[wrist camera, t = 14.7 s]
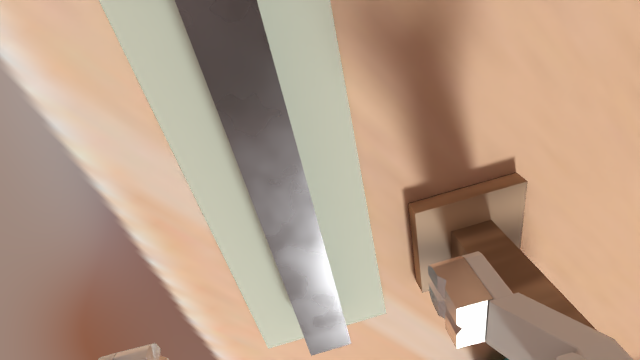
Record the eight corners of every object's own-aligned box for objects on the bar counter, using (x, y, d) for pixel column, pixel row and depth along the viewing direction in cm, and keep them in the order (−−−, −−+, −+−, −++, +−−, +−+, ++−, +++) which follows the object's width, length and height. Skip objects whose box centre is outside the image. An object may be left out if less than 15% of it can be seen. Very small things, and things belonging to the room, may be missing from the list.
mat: (-18, -252, 13) (-28, -261, 12) (270, -316, 13) (271, -327, 12) (267, 342, 31) (268, 348, 30) (383, 307, 31) (386, 313, 31)
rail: (113, -200, 13) (83, -237, 11) (195, -219, 13) (185, -259, 11) (305, 321, 29) (311, 355, 27) (341, 310, 29) (351, 343, 27)
